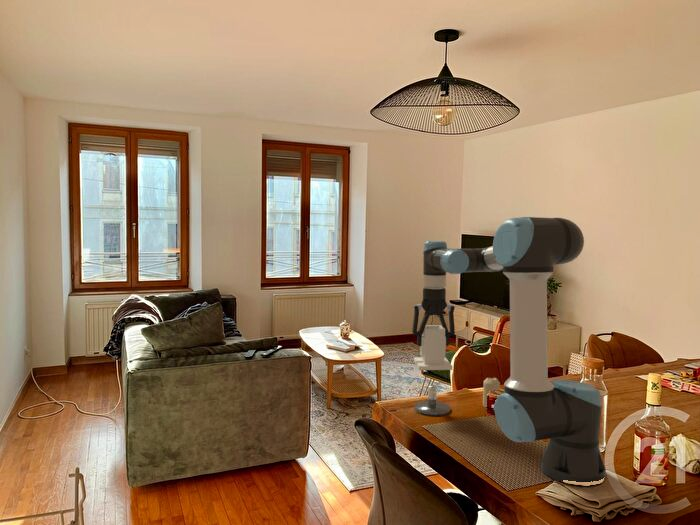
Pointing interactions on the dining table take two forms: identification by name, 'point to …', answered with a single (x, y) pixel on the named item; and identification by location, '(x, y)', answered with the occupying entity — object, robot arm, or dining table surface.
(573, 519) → the dining table surface
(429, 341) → the flange
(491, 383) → the candle
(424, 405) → the post base
